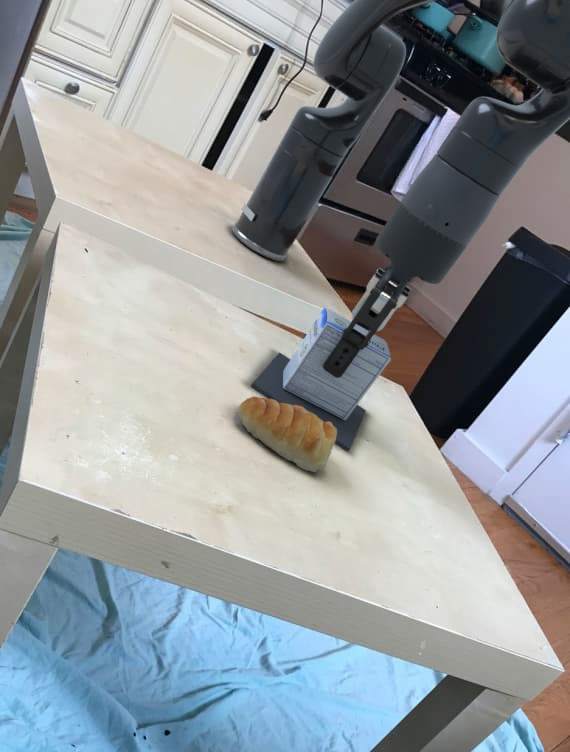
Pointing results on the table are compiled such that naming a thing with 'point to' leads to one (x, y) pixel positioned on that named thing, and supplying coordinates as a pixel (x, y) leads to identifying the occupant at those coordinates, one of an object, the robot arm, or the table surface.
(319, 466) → the pastry
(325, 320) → the medicine box
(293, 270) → the table surface
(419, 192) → the robot arm
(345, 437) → the mat
